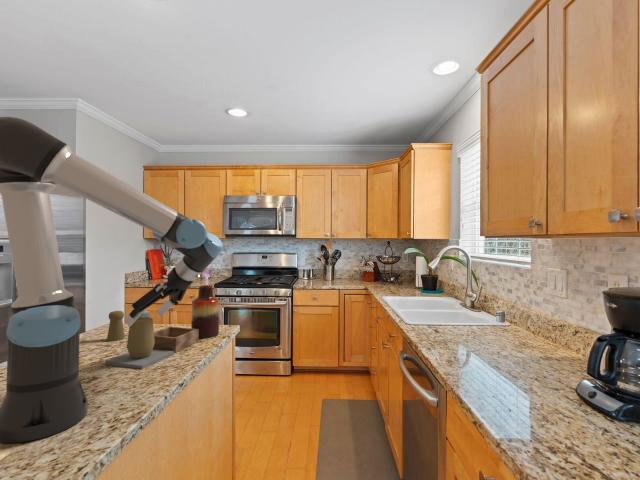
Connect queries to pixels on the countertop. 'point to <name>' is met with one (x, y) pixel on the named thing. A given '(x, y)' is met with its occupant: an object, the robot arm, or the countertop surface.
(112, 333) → the cork
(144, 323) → the squeeze bottle
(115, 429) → the countertop surface
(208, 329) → the vase
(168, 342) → the bottle holder
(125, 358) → the slate mat
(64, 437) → the countertop surface
